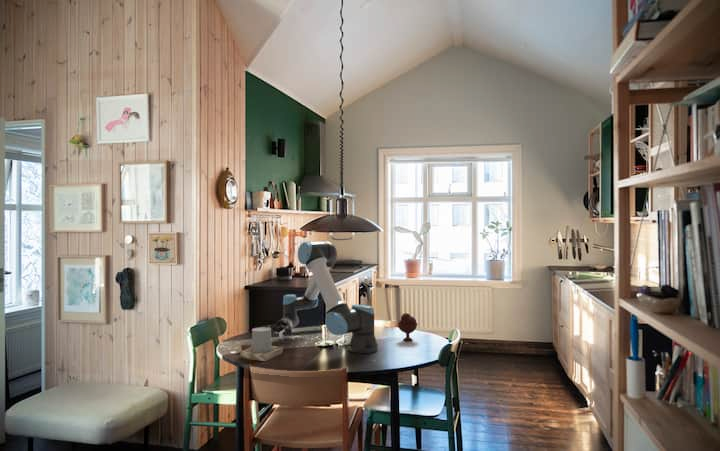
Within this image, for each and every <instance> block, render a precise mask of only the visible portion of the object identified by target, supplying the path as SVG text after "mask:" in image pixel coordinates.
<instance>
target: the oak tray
mask: <svg viewBox="0 0 720 451" xmlns="http://www.w3.org/2000/svg"><path fill="white" fill-rule="evenodd" d="M239 353H240V359H245V358H246V360H253V361H261V362H267V361H269V360H271V359H273V358H276V357H278V356H280V355H282V354H284V347H283V346H274V345H271V352H269V353H267V354H259V353H252V346H251V348H249V349H246V350H244V351H241V350H240V352H239Z"/></svg>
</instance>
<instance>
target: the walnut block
mask: <svg viewBox="0 0 720 451" xmlns="http://www.w3.org/2000/svg"><path fill="white" fill-rule="evenodd" d="M251 347H252V343H251V342H250V343H249V342H248V343H246V342H244V343H242V344H241V346H240V348H241V350H240V352H241V351H244V350H246V349H249V348H251Z"/></svg>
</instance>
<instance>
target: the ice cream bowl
mask: <svg viewBox="0 0 720 451" xmlns="http://www.w3.org/2000/svg"><path fill="white" fill-rule="evenodd" d="M397 327H398V328H399V330H400V331H401V332H402V333H404V334H405V337H404V338H403V340H402V341H403V342H406V343H407V342H408V343H409V342H413V341H414V340H413V338H412V337H410V334H411V333H413V332H415V330H416V329H417V327H418V322H417V320H416V317H414V316H411V314H409V313H407V312H405V313H403V314H402V315H401V317H400V320H399V322H398V323H397Z"/></svg>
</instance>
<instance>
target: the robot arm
mask: <svg viewBox="0 0 720 451" xmlns="http://www.w3.org/2000/svg"><path fill="white" fill-rule="evenodd" d="M297 258H298V261H299V263H300V264H302V265H305V266H306V269H307V270H309V271H311V274H312V277H311V279H310V281H309V284H308V286H307V288H306V290H305V292H304V294H303V296H297V295H296V294H284V295H283V299H282V305H283V306H282V308H283V312H282V314H283V318H281V319H279V320H277V321H276V322H275V324H273V325H272V324H267V325H264V326H262V327H269V328H271V333H277V334H278V338H280V339H281V338H282V337H284V336H287V335H290V336H291V335H292V332H293V331H292V329H294V328H295V327H297V326H298V325H299V323H300V319H299V316H298V315H297V313H298V312H297V311H301V310H309V309H310V310H311V309H313V308H316V307H318V305H319V298H318V296H319V293H320V294H321V296H322V300H323V301H324V304H325V306H326V308H327V309H326V311H325V312H326V313H325V314H326V315H325V318H324V320H325V326H326V329H327V330H328V332H329V333H331V334H332V335H334V336H344V335H345V334H351V338H350V342H349V345H348V350H349V352H351V353H354V354H372V353H375V352H377V351H378V350H379V344H378V342H377V338H376V336H375V315H376V314H375V309H374V307H373V306H371V305H365V304H364V305H363V304H352V305H351V308H349V305H348V303H347V302H344V301H343V300H342V296H341V294H340V293H339V290H338V287H337V285H336V283H335V282H334V279H333V277H332V275H331V272H330V271H331V268H333V267H334V266H335V264H336V263H337V262H336V261H337V259H338V251H337V248H336V247H335V245H334V244H333V243H332V242H331V241H328V240H318V241H305V242H301V243H300V245H299V247H298V249H297Z"/></svg>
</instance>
